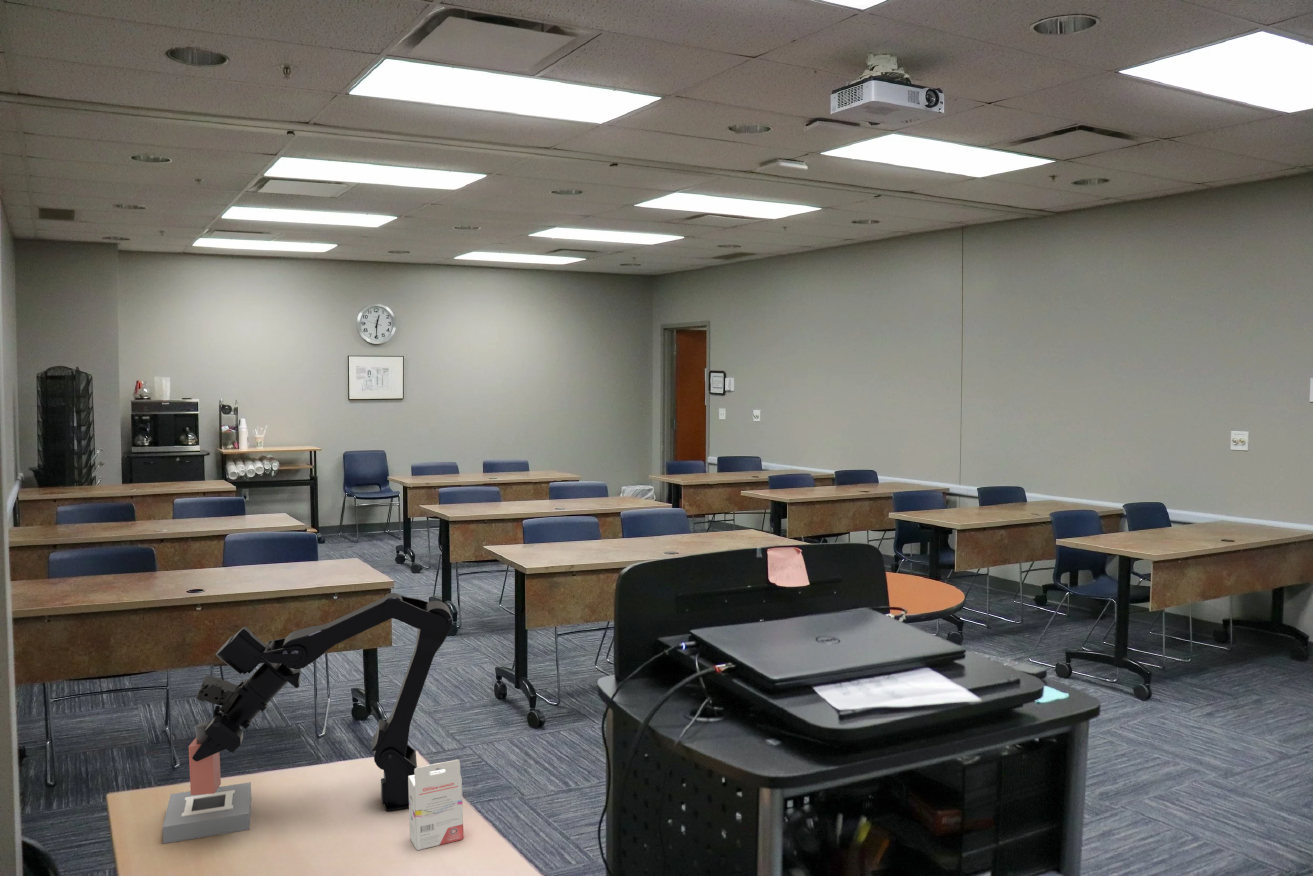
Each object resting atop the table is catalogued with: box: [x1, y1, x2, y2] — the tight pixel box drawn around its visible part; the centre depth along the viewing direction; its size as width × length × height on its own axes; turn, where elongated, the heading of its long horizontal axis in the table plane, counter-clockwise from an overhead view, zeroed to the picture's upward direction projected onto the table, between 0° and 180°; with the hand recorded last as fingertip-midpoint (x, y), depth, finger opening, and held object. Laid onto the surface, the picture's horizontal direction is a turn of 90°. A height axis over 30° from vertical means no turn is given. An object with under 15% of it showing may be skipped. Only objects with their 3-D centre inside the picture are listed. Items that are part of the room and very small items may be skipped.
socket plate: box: [162, 782, 252, 845], centre depth 179 cm, size 14×14×3 cm
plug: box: [188, 722, 222, 795], centre depth 176 cm, size 4×4×12 cm
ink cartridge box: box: [408, 759, 464, 851], centre depth 171 cm, size 9×5×15 cm, turn 118°
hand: (196, 754), depth 176 cm, fingers closed on plug, 4 cm apart
